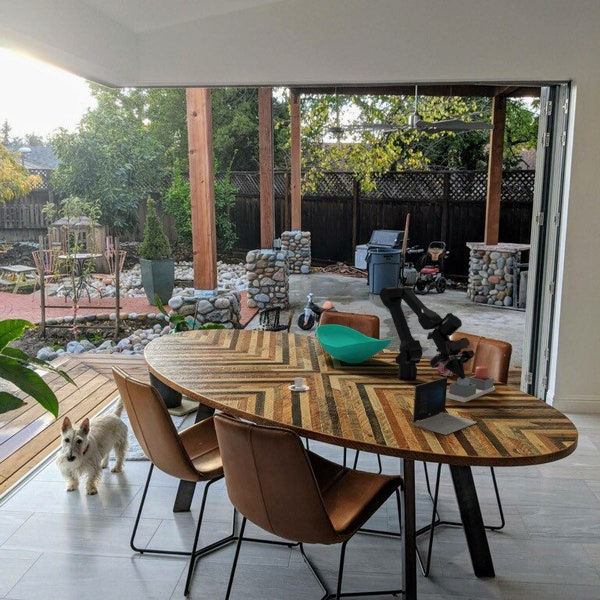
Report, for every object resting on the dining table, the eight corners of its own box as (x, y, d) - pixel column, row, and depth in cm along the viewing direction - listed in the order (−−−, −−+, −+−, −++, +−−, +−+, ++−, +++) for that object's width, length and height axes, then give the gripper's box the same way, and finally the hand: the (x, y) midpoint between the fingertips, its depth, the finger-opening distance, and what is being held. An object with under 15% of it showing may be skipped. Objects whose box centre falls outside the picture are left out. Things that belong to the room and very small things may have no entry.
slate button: (454, 392, 236) (455, 378, 235) (460, 390, 239) (461, 376, 238) (465, 395, 233) (466, 381, 232) (470, 392, 236) (471, 379, 236)
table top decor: (406, 367, 278) (408, 337, 276) (358, 375, 261) (360, 343, 260) (346, 349, 309) (347, 322, 307) (299, 355, 293) (300, 327, 291)
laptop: (445, 436, 196) (448, 395, 194) (411, 425, 204) (414, 385, 203) (477, 424, 208) (480, 385, 206) (443, 414, 217) (446, 376, 215)
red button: (472, 380, 246) (473, 367, 245) (478, 378, 249) (479, 365, 248) (483, 383, 243) (484, 369, 242) (488, 381, 246) (489, 367, 246)
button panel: (439, 396, 237) (440, 383, 236) (470, 384, 255) (471, 372, 254) (464, 402, 230) (465, 388, 230) (494, 390, 248) (495, 377, 247)
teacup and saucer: (304, 393, 235) (304, 382, 235) (283, 390, 238) (284, 380, 237) (312, 387, 243) (312, 377, 243) (292, 385, 246) (292, 374, 246)
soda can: (454, 377, 264) (457, 349, 262) (437, 376, 266) (439, 347, 264) (454, 373, 271) (456, 345, 269) (437, 372, 272) (439, 344, 271)
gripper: (437, 332, 232) (459, 369, 225) (473, 328, 243) (494, 363, 235) (420, 349, 240) (440, 385, 232) (455, 345, 250) (476, 379, 243)
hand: (463, 378), depth 235 cm, fingers closed, pressing on slate button
